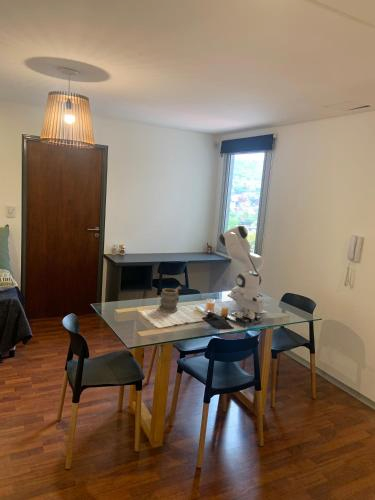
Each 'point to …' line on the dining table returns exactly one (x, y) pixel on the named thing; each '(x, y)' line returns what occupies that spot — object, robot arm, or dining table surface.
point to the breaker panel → (243, 319)
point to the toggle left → (239, 314)
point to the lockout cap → (224, 312)
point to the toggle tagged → (251, 315)
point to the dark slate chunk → (217, 321)
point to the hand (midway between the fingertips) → (247, 315)
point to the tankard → (169, 300)
